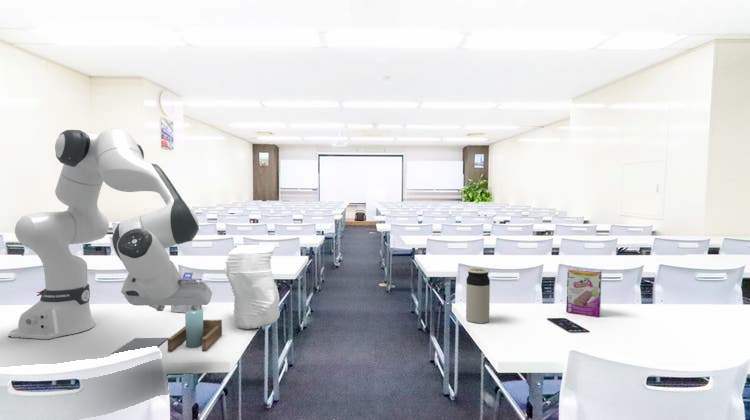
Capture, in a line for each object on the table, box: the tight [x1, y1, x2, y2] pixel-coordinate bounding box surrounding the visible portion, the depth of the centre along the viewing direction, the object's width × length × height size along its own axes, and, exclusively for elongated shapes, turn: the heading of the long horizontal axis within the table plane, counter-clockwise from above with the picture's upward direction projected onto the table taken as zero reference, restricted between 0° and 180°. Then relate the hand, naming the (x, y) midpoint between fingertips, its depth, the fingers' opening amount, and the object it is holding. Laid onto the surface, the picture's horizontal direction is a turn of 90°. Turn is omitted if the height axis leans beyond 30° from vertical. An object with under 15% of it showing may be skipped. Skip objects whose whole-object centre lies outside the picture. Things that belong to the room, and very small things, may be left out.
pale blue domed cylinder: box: [184, 308, 204, 349], centre depth 121 cm, size 5×7×10 cm
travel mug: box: [465, 267, 491, 324], centre depth 143 cm, size 8×8×18 cm
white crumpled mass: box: [223, 243, 281, 330], centre depth 140 cm, size 21×27×26 cm
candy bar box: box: [565, 267, 603, 318], centre depth 151 cm, size 11×5×16 cm, turn 58°
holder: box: [167, 319, 223, 353], centre depth 121 cm, size 11×13×5 cm
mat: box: [110, 337, 169, 354], centre depth 117 cm, size 10×14×1 cm
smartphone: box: [546, 317, 591, 334], centre depth 138 cm, size 8×1×15 cm
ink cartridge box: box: [170, 271, 203, 314], centre depth 154 cm, size 10×6×14 cm, turn 78°
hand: (179, 308), depth 110 cm, fingers open, 8 cm apart
